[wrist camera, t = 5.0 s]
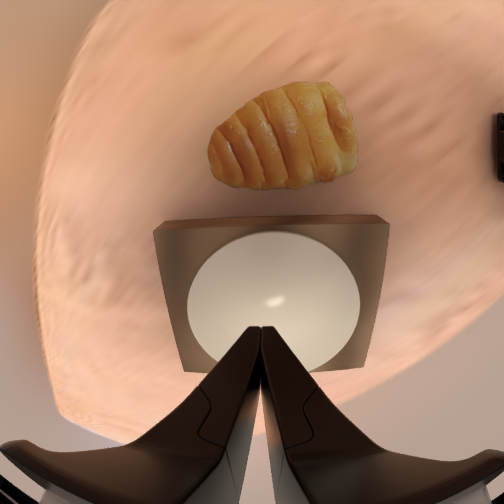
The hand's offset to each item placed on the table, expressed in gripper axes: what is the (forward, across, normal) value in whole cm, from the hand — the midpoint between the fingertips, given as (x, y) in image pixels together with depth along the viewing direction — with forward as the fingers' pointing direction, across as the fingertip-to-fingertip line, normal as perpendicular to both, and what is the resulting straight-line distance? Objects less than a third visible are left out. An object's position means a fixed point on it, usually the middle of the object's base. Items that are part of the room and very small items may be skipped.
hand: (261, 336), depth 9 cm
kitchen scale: (+12, -1, +6) cm, 13 cm away
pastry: (+13, +1, -8) cm, 15 cm away
